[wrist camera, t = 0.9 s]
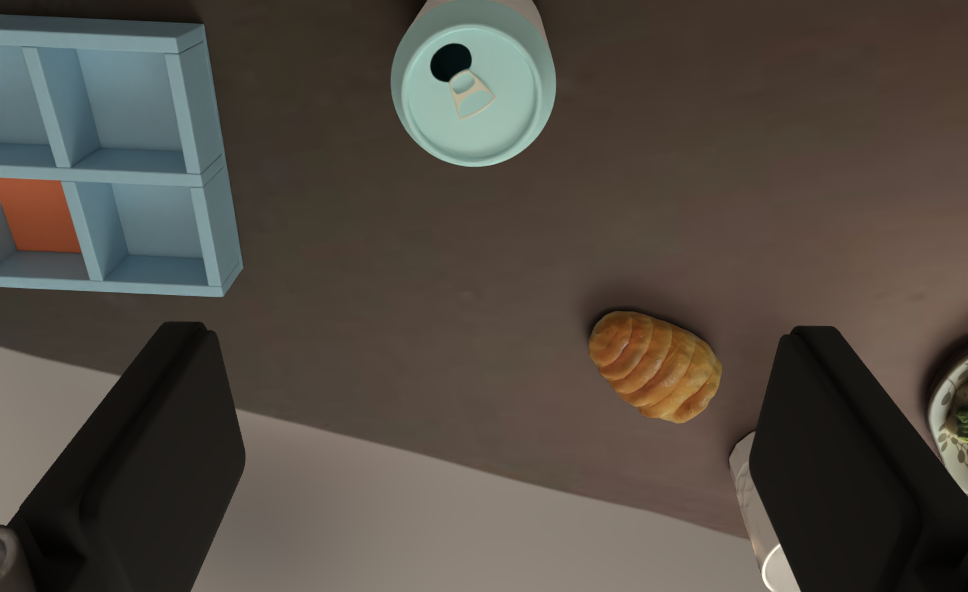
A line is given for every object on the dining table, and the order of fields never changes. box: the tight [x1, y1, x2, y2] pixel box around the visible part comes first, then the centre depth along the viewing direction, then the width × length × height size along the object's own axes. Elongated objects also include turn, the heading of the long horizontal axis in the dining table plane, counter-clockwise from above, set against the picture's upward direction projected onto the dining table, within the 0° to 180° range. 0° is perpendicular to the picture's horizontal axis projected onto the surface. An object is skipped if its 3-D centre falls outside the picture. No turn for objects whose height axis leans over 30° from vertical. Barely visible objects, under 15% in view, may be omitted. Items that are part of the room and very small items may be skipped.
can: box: [391, 0, 556, 167], centre depth 33 cm, size 7×7×12 cm
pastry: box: [589, 311, 723, 423], centre depth 47 cm, size 9×7×4 cm
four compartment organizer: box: [0, 14, 243, 297], centre depth 40 cm, size 15×15×4 cm
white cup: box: [729, 431, 801, 592], centre depth 49 cm, size 8×8×10 cm
